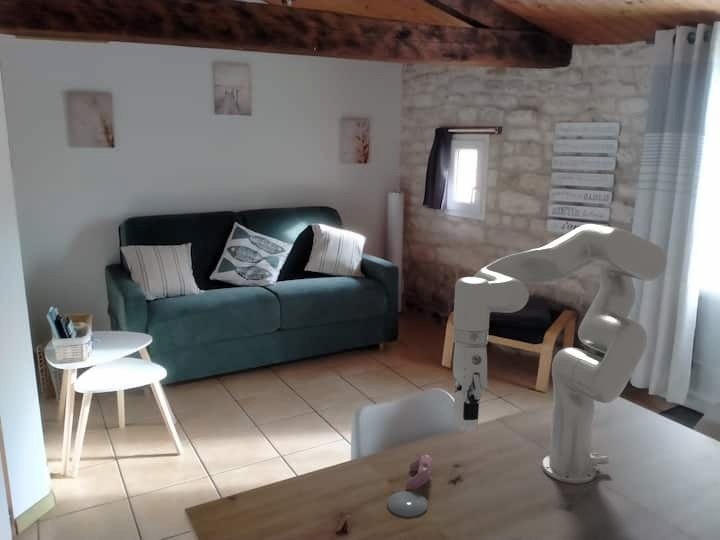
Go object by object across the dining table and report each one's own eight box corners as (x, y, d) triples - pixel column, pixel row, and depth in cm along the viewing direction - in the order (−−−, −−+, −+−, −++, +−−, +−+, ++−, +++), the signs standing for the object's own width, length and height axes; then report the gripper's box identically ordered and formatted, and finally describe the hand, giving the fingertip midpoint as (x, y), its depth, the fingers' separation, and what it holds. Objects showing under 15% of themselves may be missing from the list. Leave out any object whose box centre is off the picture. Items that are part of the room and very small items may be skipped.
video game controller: (420, 498, 142) (434, 475, 140) (403, 488, 143) (417, 465, 141) (424, 475, 152) (437, 454, 150) (408, 466, 152) (421, 445, 150)
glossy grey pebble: (422, 492, 142) (422, 489, 142) (431, 515, 133) (431, 512, 133) (384, 495, 141) (384, 492, 141) (391, 518, 132) (391, 516, 132)
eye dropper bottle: (469, 420, 138) (471, 370, 135) (479, 431, 133) (482, 380, 130) (451, 422, 137) (453, 372, 134) (461, 433, 132) (463, 382, 129)
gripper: (501, 347, 123) (496, 430, 126) (474, 322, 139) (469, 396, 143) (466, 348, 121) (461, 432, 125) (442, 323, 138) (438, 398, 142)
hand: (465, 412), depth 134 cm, fingers closed on eye dropper bottle, 5 cm apart
